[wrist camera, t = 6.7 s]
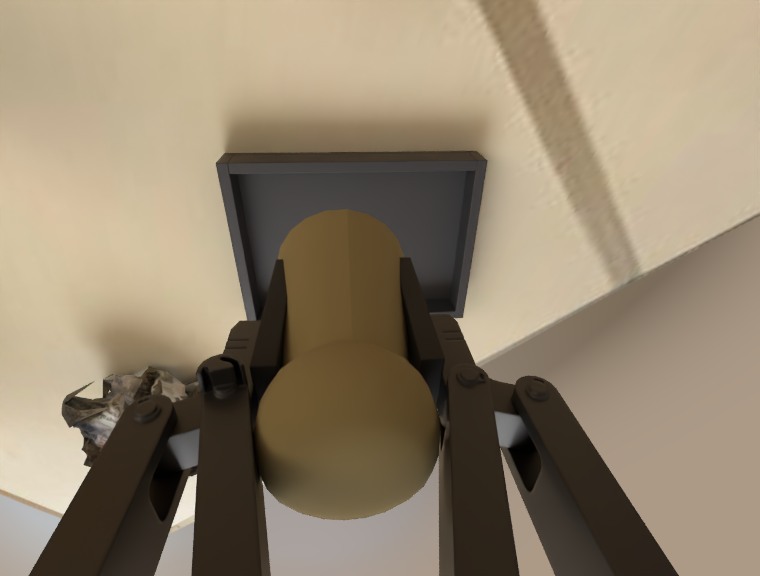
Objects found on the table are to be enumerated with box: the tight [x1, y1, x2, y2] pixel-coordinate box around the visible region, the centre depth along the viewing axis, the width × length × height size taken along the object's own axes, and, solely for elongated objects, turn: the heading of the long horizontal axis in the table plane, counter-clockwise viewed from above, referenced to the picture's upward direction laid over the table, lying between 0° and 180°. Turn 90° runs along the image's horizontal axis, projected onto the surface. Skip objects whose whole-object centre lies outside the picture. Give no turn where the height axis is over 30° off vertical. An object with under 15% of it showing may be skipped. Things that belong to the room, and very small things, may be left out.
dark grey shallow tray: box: [216, 151, 487, 321], centre depth 34 cm, size 20×15×3 cm
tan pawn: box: [253, 209, 440, 520], centre depth 15 cm, size 6×6×11 cm
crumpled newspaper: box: [62, 367, 201, 476], centre depth 41 cm, size 12×11×15 cm
